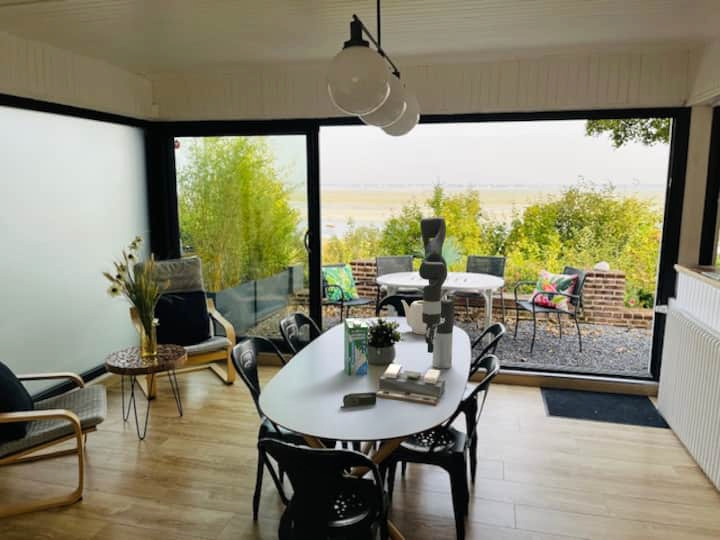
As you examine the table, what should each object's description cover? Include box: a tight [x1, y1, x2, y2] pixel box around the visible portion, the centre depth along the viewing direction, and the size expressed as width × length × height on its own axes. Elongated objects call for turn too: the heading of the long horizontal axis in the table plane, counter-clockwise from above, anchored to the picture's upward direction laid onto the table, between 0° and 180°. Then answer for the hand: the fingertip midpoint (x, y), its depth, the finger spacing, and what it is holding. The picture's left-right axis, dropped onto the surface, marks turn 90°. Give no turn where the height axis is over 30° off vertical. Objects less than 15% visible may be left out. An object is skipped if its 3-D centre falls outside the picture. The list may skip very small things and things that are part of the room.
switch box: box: [375, 372, 446, 406], centre depth 215 cm, size 16×26×6 cm, turn 69°
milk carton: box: [343, 317, 369, 377], centre depth 239 cm, size 9×9×25 cm
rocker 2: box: [403, 370, 422, 378], centre depth 217 cm, size 9×5×2 cm, turn 159°
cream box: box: [424, 368, 441, 384], centre depth 214 cm, size 9×5×3 cm, turn 159°
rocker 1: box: [383, 363, 403, 378], centre depth 220 cm, size 9×5×2 cm, turn 159°
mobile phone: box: [340, 391, 377, 409], centre depth 203 cm, size 5×3×15 cm
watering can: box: [400, 299, 443, 336], centre depth 309 cm, size 16×27×19 cm, turn 62°
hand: (430, 352), depth 209 cm, fingers closed
